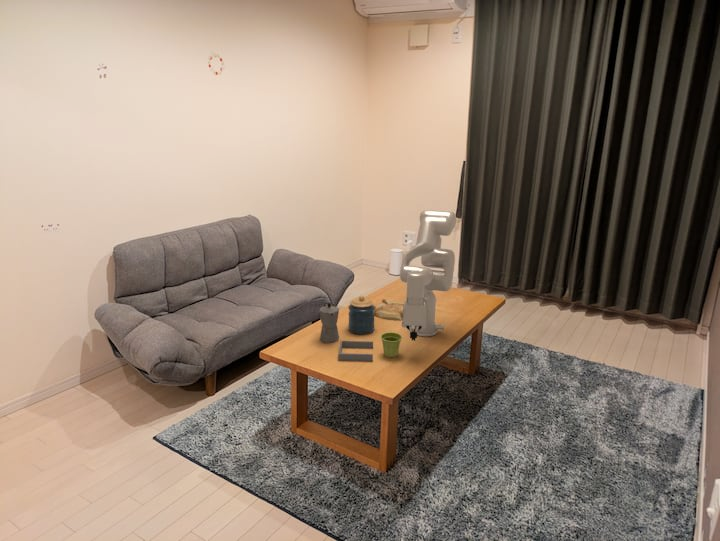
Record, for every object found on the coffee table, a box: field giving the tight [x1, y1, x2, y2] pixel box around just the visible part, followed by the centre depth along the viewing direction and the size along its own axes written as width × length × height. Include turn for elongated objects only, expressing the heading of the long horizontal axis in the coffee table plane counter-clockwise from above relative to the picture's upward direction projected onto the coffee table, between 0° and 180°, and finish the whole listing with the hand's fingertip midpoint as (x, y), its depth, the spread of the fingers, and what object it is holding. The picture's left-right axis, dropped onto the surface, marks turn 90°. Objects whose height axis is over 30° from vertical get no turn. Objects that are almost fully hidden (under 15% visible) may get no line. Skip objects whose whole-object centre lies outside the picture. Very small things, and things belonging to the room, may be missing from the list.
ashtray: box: [374, 298, 404, 322], centre depth 276 cm, size 24×24×5 cm
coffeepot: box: [318, 302, 340, 344], centre depth 242 cm, size 15×9×18 cm, turn 16°
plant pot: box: [380, 332, 403, 358], centre depth 227 cm, size 9×9×9 cm
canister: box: [347, 295, 376, 335], centre depth 252 cm, size 13×13×18 cm
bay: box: [337, 340, 374, 362], centre depth 228 cm, size 15×14×3 cm
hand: (413, 339), depth 226 cm, fingers closed
